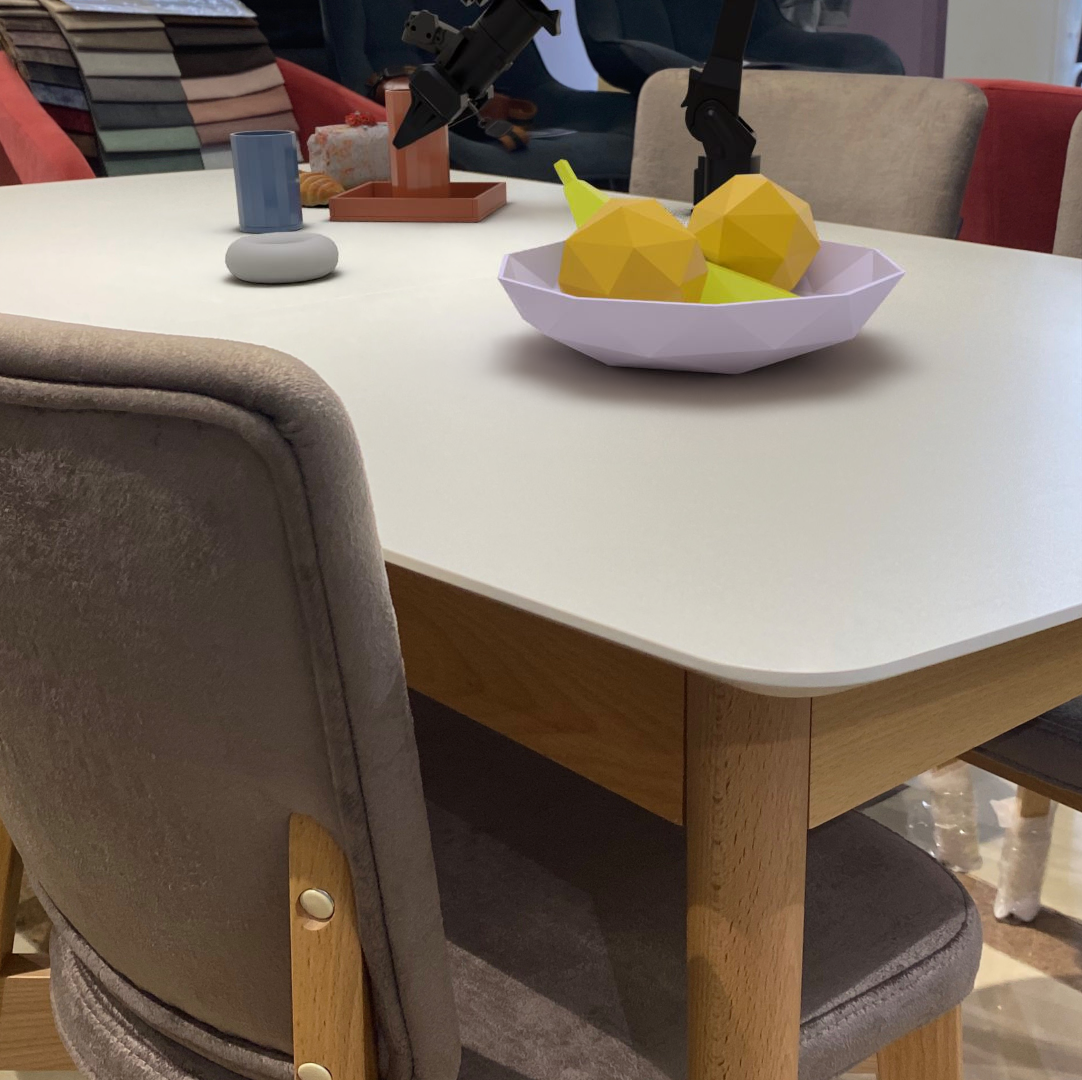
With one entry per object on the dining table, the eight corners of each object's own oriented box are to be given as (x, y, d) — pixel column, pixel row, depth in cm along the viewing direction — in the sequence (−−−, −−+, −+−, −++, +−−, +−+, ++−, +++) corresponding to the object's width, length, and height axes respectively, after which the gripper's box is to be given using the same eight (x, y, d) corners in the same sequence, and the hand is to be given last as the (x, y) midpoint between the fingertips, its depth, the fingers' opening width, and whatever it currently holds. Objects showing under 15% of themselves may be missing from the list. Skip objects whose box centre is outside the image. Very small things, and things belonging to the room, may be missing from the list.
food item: (320, 196, 166) (313, 116, 163) (309, 189, 173) (302, 112, 170) (423, 190, 171) (419, 111, 167) (408, 183, 178) (403, 107, 174)
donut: (307, 291, 110) (359, 267, 119) (303, 250, 109) (356, 229, 117) (205, 285, 113) (263, 263, 122) (200, 245, 112) (259, 225, 121)
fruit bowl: (977, 377, 80) (998, 188, 76) (558, 421, 73) (555, 217, 69) (775, 292, 105) (783, 146, 101) (448, 319, 98) (441, 164, 94)
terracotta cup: (455, 209, 149) (450, 90, 145) (396, 212, 148) (389, 92, 143) (445, 202, 156) (440, 87, 151) (389, 205, 154) (381, 89, 149)
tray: (506, 203, 157) (506, 182, 156) (478, 222, 143) (477, 199, 143) (370, 202, 160) (369, 181, 159) (329, 220, 147) (328, 198, 146)
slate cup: (315, 225, 143) (308, 131, 140) (274, 235, 138) (265, 136, 134) (269, 222, 147) (260, 129, 143) (226, 231, 141) (216, 135, 137)
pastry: (360, 203, 159) (358, 171, 158) (315, 210, 155) (312, 177, 153) (315, 197, 165) (313, 166, 164) (271, 204, 161) (267, 172, 160)
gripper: (462, -16, 151) (377, 86, 156) (423, -19, 134) (328, 96, 139) (531, 56, 152) (444, 154, 158) (500, 62, 135) (404, 171, 141)
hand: (405, 142), depth 149 cm, fingers open, 9 cm apart
